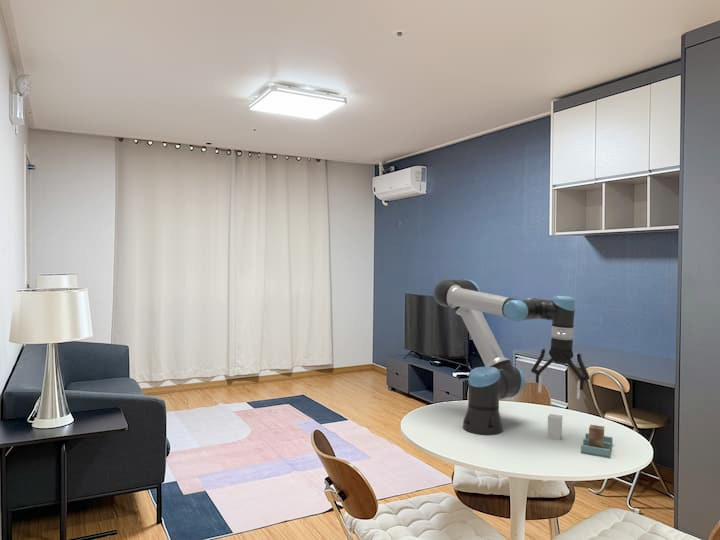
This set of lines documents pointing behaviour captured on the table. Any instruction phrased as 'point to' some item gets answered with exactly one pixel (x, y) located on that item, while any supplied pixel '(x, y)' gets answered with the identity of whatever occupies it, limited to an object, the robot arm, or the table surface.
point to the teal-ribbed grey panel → (595, 450)
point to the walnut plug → (596, 436)
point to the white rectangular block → (554, 427)
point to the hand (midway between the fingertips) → (558, 395)
